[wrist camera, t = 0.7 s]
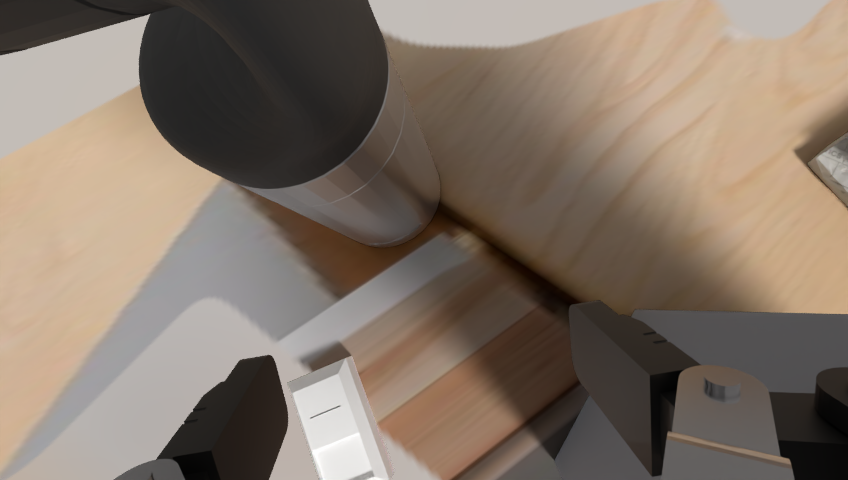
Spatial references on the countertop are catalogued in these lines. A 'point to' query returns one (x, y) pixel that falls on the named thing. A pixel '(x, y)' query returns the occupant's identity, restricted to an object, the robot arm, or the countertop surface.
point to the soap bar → (340, 424)
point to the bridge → (722, 346)
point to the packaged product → (834, 167)
